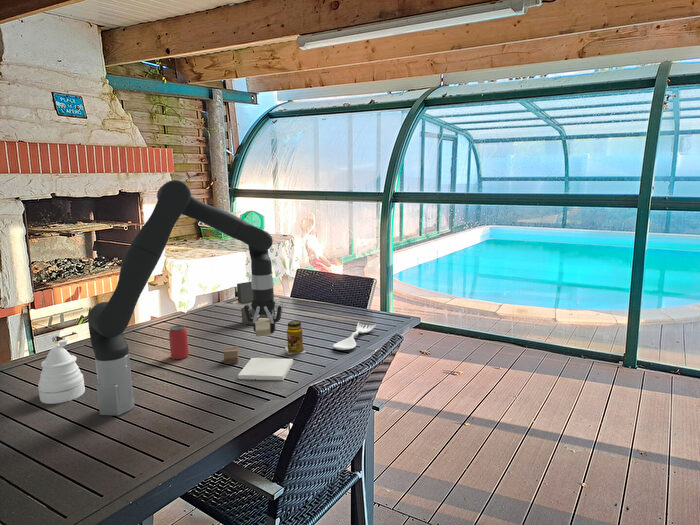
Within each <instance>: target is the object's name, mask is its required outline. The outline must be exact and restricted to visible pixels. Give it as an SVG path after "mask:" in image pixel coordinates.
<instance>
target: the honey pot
mask: <svg viewBox="0 0 700 525" xmlns="http://www.w3.org/2000/svg"><path fill="white" fill-rule="evenodd" d="M67 345H68V339H61V340H58V345H56V346H54V347H51V349H50V350H49V352H48V354H47V355H46V358H45V360H43V361H41V364H40V366H41V367H42V370H41V372H40V376H39V377H40V378H39V381H38V383H37V384H38V385H37V386H38V394H39V395H38V397H39V401H40V402H41V403H43V404H48V405H49V404H50V405H52V404H61V403H65V402H69V401H73V400H75V399H77V398H79V397H81V396H82V395H83V394H85V392H86V389H85V379H84V374H83V373H82V372H81V370H80V366H78V364H77V363H76V362H77V360H78V359H77V356H75V355H73V354H70V353H69V352H68V350H66V349H65V348H64V347H66V346H67Z"/></svg>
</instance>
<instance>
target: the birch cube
mask: <svg viewBox="0 0 700 525" xmlns="http://www.w3.org/2000/svg"><path fill="white" fill-rule="evenodd" d="M270 324H271V322H270V320H269V318H259V319H258V320H257V321H256V322H255V327H256V333H255V336H256V337H270V336H272V333H271V328H270Z"/></svg>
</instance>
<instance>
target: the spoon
mask: <svg viewBox="0 0 700 525" xmlns="http://www.w3.org/2000/svg"><path fill="white" fill-rule="evenodd" d="M376 327H377V324H374V325H371V324H370V325H367V324H366V325H365V324H362V323H360V322H357V325H356V327H355V330H356V331H353V332H351V335H349V337H347V338H345V339H343V340H340V341H338V342H336V343H334V344H332V347H333V348H334V349H335V350H340V351H347V350H348V351H349V350H352V349H354V348H356V346H357V342H356V340H355V338H354V337H355V336H358V335H359V334H367V333H369V332H371V331H372V330H373V329H375V328H376Z"/></svg>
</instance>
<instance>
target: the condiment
mask: <svg viewBox="0 0 700 525" xmlns="http://www.w3.org/2000/svg"><path fill="white" fill-rule="evenodd" d="M286 336H287V337H286V339H287V342H286V344H287V346H286V347H284V349H285V351H286V353H287V356H288V355H297V354H304V353H307V351H306V349H305V348H304V347H305V346H304V344H303V328H302V322H301V321H300V320H292V321H288V323H287V329H286Z"/></svg>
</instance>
